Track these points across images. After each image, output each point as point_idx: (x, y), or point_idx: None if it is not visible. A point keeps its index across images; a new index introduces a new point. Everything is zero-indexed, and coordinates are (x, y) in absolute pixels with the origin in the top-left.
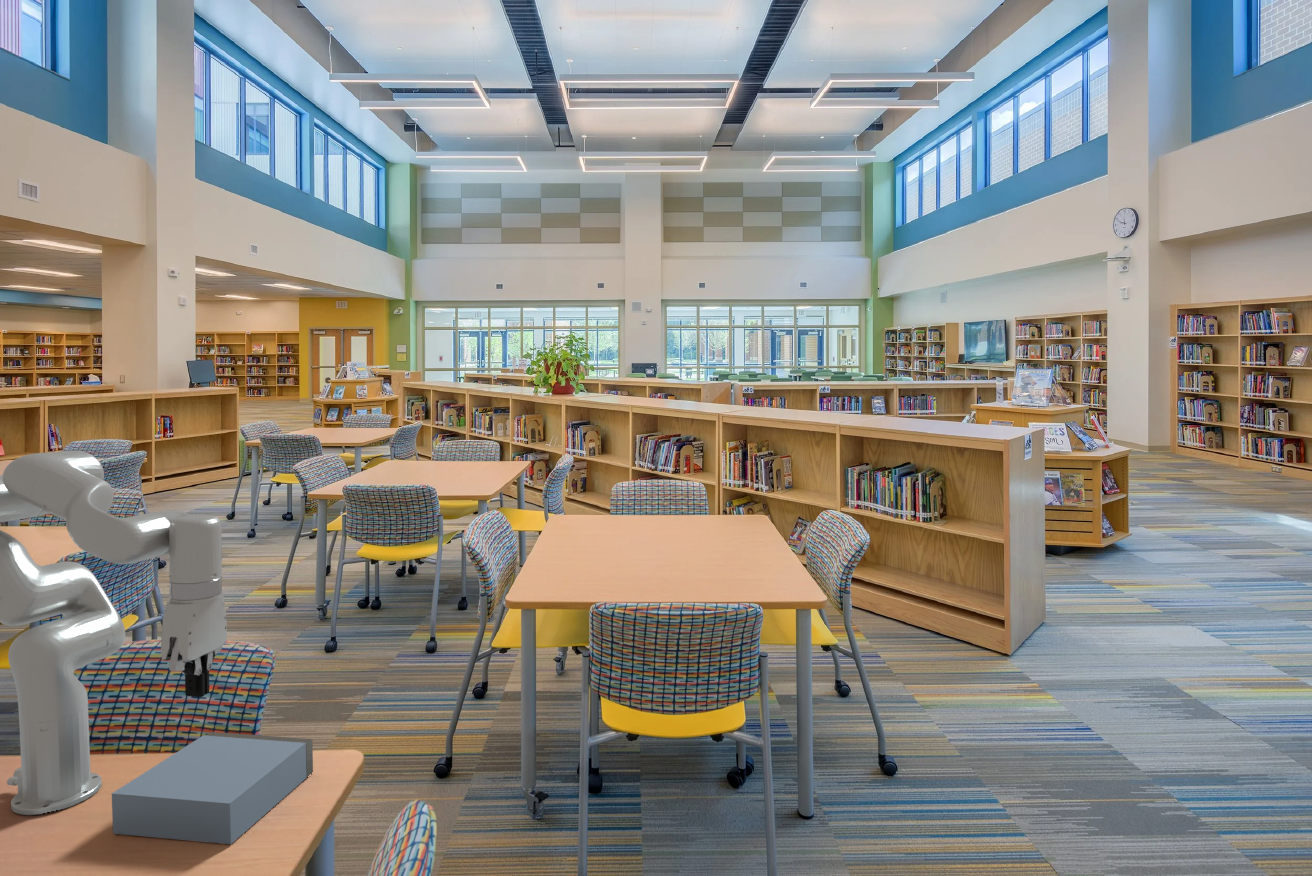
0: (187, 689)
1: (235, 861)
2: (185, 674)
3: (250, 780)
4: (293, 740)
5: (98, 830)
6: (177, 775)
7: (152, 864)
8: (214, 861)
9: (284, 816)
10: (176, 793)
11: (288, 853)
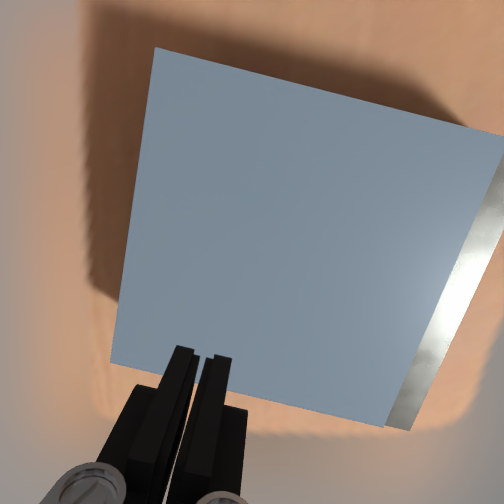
0: (130, 398)
1: (99, 339)
2: (133, 448)
3: None
4: (411, 393)
5: (204, 13)
6: (244, 186)
7: (87, 206)
8: (99, 307)
9: None
10: (151, 230)
11: (121, 406)
